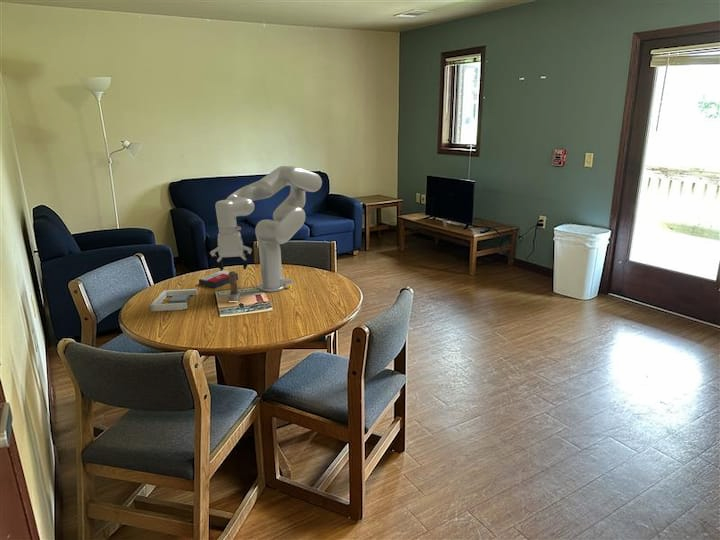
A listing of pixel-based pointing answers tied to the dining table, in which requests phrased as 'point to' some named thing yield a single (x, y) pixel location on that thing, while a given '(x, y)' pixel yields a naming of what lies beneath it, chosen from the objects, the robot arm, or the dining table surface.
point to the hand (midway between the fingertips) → (233, 269)
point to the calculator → (216, 279)
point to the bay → (171, 306)
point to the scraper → (233, 287)
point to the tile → (179, 299)
